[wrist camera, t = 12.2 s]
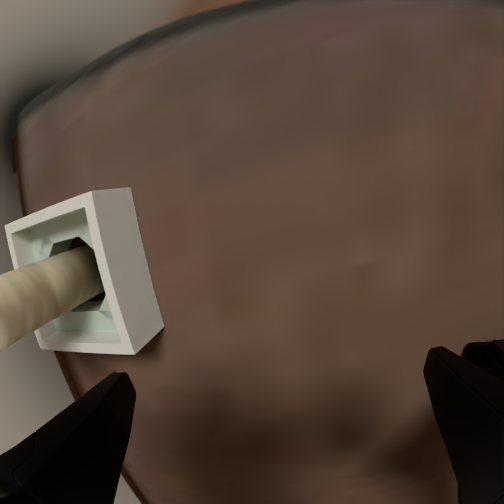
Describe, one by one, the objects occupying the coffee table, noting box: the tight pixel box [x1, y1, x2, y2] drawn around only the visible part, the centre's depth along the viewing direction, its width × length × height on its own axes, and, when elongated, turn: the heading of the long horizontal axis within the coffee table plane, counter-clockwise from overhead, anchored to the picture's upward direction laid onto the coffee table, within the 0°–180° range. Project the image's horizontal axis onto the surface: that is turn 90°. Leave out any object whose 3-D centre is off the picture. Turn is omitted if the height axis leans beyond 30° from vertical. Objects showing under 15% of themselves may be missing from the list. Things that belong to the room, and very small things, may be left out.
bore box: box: [5, 187, 164, 355], centre depth 21 cm, size 11×11×4 cm
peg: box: [0, 244, 105, 351], centre depth 17 cm, size 4×4×13 cm
